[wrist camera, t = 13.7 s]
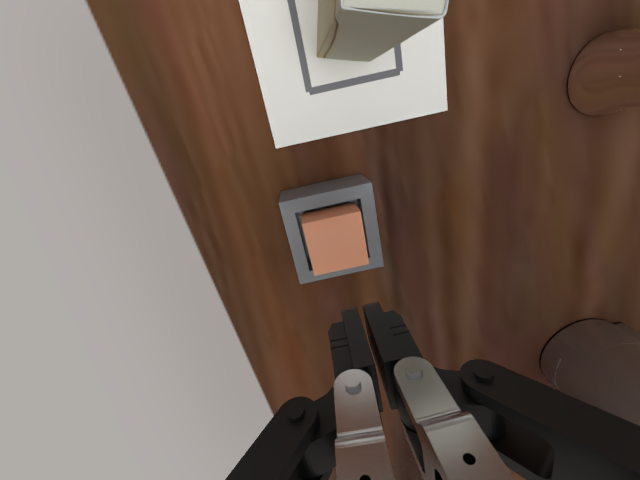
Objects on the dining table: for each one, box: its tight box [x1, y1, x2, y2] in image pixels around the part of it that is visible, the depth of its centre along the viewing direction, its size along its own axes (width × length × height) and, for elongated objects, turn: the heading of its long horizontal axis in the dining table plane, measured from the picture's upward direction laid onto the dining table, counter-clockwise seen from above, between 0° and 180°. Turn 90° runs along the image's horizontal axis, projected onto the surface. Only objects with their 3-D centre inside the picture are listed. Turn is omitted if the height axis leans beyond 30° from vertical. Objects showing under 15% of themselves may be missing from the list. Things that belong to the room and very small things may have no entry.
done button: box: [301, 202, 369, 276], centre depth 24 cm, size 4×4×2 cm
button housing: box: [279, 173, 384, 284], centre depth 26 cm, size 7×7×4 cm
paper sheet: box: [239, 0, 448, 149], centre depth 22 cm, size 14×16×1 cm
